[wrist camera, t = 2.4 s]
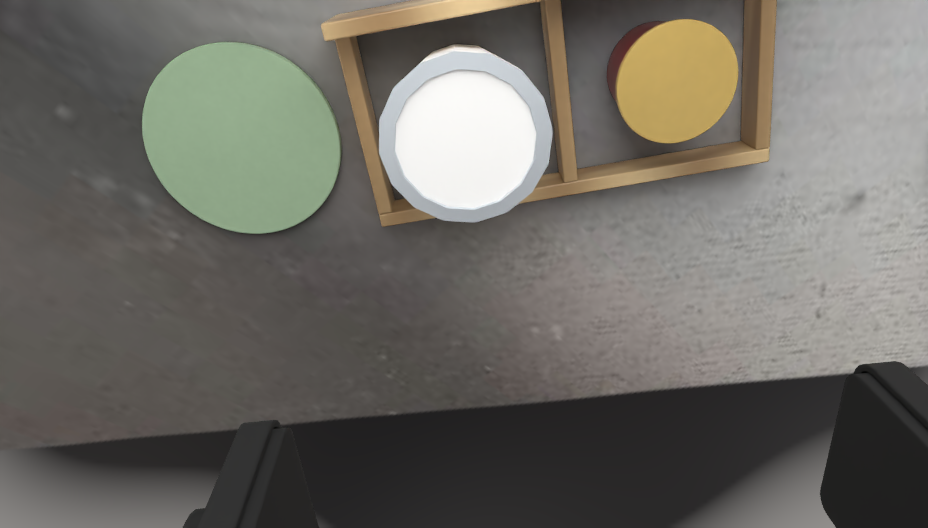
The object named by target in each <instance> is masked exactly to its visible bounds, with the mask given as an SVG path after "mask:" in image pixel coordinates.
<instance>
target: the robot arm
mask: <svg viewBox="0 0 928 528" xmlns="http://www.w3.org/2000/svg"><path fill="white" fill-rule="evenodd" d="M820 495H821V501H822V505H823V508H824V510H825V511H826V513H827V515H828V516H829V518H830V519H831V521H832V522H833V524H834V525H835V527H836V528H928V385H927V384H926V383H925V382H923V381H922V380H921V379H920V378H919V377H918V376H917V375H916V374H914V373H913V372H912V371H911V370H910V369H909V368H908V367H907V366H905V365H904V364H902V363H901V362H896V361H893V362H883V363H872V364H863V365H859V366H858V367H857V368H856V369H855V371H854V374H851V375H849V376H848V377H847V378H846V381H845V384H844V389H843V393H842V397H841V402H840V406H839V411H838V415H837V419H836V425H835V428H834V433H833V437H832V441H831V446H830V450H829V455H828V459H827V463H826V468H825V472H824V476H823V481H822V485H821V490H820ZM183 528H319V527H318V523H317V519H316V516H315V512H314V508H313V505H312V501H311V498H310V494H309V490H308V487H307V483H306V479H305V476H304V473H303V469H302V465H301V461H300V458H299V454H298V451H297V447H296V443H295V440H294V436H293V433H292V430H291V429H290V428H282V427H281V425H280V423H279V422H278V421H277V420H270V421H260V422H249V423H243V424H242V425H241V426H240V427H239V429H238V431H237V434H236V436H235V439H234V441H233V443H232V446H231V448H230V451H229V453H228V456H227V458H226V460H225V463H224V465H223V467H222V470H221V472H220V475H219V477H218V479H217V482H216V484H215V487H214V489H213V491H212V494H211V496H210V498H209V501H208V503H207V506H206V508H203V509H196V510H194V511H193V512H192V513H191V514H190V515H189V517H188V519H187V520H186V522H185V524H184V526H183Z"/></svg>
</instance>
